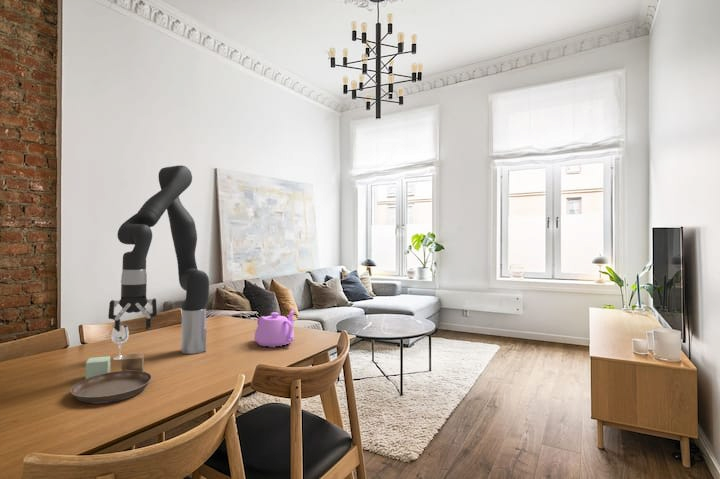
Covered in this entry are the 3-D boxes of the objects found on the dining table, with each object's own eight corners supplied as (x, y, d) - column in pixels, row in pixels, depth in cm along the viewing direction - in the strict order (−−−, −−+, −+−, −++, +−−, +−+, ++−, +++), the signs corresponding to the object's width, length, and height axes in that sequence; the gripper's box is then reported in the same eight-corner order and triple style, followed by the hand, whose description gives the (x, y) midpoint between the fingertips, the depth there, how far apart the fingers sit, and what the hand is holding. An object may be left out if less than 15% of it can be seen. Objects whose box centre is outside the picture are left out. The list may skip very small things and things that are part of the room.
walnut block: (143, 370, 140) (143, 352, 140) (142, 375, 134) (142, 357, 134) (123, 372, 137) (123, 354, 137) (121, 377, 132) (121, 359, 132)
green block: (110, 373, 136) (110, 356, 136) (107, 379, 130) (107, 361, 130) (89, 375, 133) (89, 358, 133) (85, 382, 128) (85, 363, 128)
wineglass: (120, 361, 149) (120, 328, 149) (107, 359, 150) (107, 328, 150) (132, 356, 155) (132, 325, 155) (119, 355, 156) (119, 324, 156)
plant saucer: (91, 414, 106) (92, 401, 106) (57, 396, 116) (57, 385, 116) (165, 389, 123) (165, 378, 123) (129, 376, 134) (129, 366, 134)
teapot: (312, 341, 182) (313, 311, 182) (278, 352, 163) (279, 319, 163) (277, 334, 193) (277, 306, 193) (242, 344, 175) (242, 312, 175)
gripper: (157, 280, 142) (156, 326, 142) (111, 281, 136) (110, 329, 136) (157, 283, 135) (155, 330, 135) (107, 284, 129) (106, 334, 129)
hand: (133, 330), depth 136 cm, fingers open, 8 cm apart
